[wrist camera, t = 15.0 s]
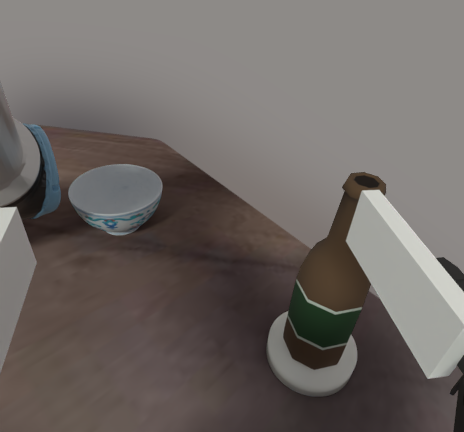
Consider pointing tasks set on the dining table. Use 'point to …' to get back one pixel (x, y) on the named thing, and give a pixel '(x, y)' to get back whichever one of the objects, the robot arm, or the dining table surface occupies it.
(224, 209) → the dining table surface
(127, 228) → the chinaware
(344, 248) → the beer bottle
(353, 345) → the plinth
